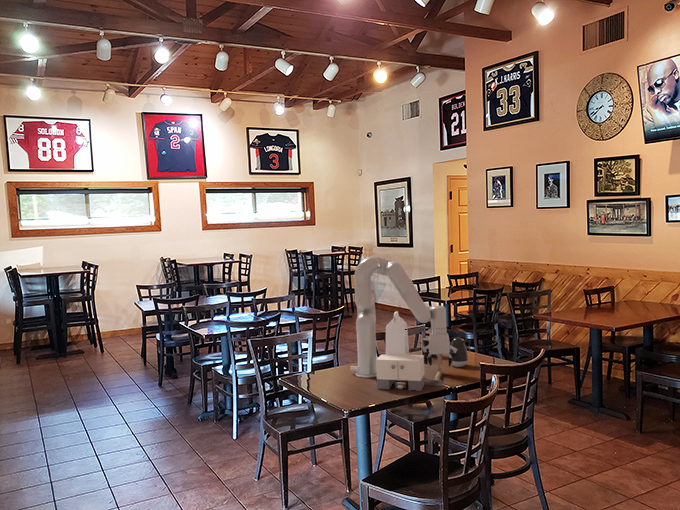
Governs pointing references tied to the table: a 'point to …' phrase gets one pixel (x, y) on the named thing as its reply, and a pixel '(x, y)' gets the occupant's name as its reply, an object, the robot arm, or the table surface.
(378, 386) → the cabinet
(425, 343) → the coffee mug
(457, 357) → the pump dispenser
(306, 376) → the table surface
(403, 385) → the steel puck
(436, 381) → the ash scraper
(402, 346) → the milk
